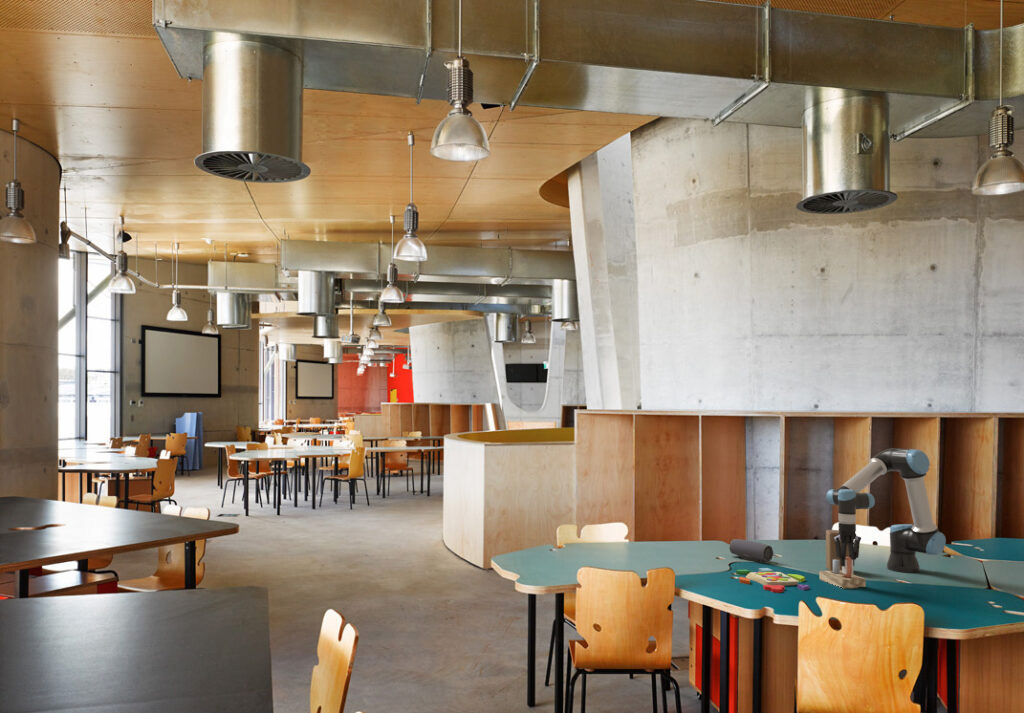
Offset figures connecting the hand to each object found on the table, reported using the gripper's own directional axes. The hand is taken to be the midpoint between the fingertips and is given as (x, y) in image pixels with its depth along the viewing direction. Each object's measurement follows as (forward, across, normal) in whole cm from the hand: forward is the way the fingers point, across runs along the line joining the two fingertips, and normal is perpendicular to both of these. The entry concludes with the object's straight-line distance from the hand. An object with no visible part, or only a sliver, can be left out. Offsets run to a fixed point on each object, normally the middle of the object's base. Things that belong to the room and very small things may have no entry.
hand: (847, 573), depth 355 cm
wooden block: (+6, -15, -30) cm, 34 cm away
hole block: (+6, 0, -4) cm, 7 cm away
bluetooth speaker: (+6, +16, -62) cm, 64 cm away
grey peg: (+6, 0, -9) cm, 11 cm away
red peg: (+3, 0, 0) cm, 3 cm away
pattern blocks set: (+7, +31, -14) cm, 34 cm away
